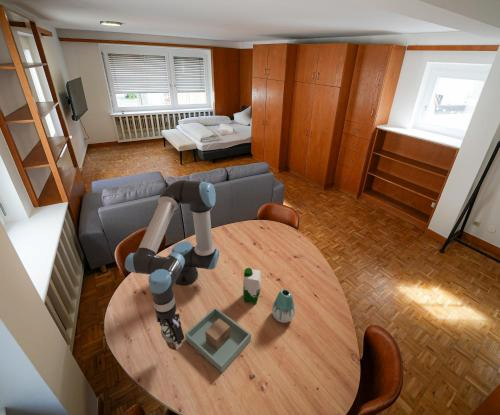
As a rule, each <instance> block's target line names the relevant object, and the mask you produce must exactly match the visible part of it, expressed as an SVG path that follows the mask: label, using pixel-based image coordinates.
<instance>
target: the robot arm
mask: <svg viewBox="0 0 500 415" xmlns="http://www.w3.org/2000/svg"><path fill="white" fill-rule="evenodd" d="M216 197H217V194H216V189H215V186H214V184H212V183H210V182H206V181H196V180H185V179H179V180H176V181H174V182H172V183H171V184H169V185H168V186H167V187H166V188H165V189H164V190H163V191H162V192H161V194H160V196H158V200H157V202H158V205H157V207H156V209H155V212H154V213H153V216H152V218H151V221H150V222H149V225H148V226H147V228H146V230H145V233H144V236H143V238H142V239H141V242H140V244H139V246H138V249H137V250H136V252H130V253H129V254H128V255H126V258H125V261H124V268H125V269H126V271H127V272H130V273H135V274H141V275H142V274H143V275H149V276H148V279H147V280H148V288H149V291H150V293H151V294H150V295H151V298H152V301H153V308H154V311H155V317H156V322H157V324H158V323H159V326H160V328H161V327H162V324H163V323H164V322H166V323H167V325H168V327H169V328H170V329H171V331H172V333H173V335H174V342H175V347H176V350H178V349H180V348H181V347H182V346H183V341H184V339H185V333H184V332H183V328H182V322H181V320H180V321H178V322H177V321H176V318H175V314H176V311H177V304H176V300H175V294H174V289H173V288H174V286H175V285H178V286H182V287H183V286H188V285H191V284H193V283H195V281H197V280H198V277H199V271H198V269H204V270H215V268H216V267H217V265H218V260H219V257H220V249H218V248H216V245H215V244H214V243H213V237H212V236H213V235H212V224H211V210H212V209H213V208H214V206H215V204H216V201H217V200H216ZM180 205H186V206H187V205H188V209H189V211H190V212H192V217H193V226H194V235H195V236H194V237H195V243H196V245H194V246H193V244H192V243H191V242H190V241H188V240H187V241H185V240H184V241H180V242H177V243H176V244H174V245H173V246H172V248H171V253H169V254H168V255H167V256H160V255H157V253H158V250H159V248H160V246H161V244H162V241H163V239H164V237H165V234H166V231H167V229H168V227H169V224H170V222H171V219H172V217H173V215H174V212H175V210H178V209H179V207H180Z"/></svg>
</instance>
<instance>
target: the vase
mask: <svg viewBox="0 0 500 415" xmlns="http://www.w3.org/2000/svg"><path fill="white" fill-rule="evenodd" d="M271 313H272V316H273V318H274V319H275V320H276V321H277V322H279V323H281V324H286V323H289V322H291V321H292V320H293V319H294V317H295V315H296V306H295V302H294V297H293V294H292V292H291V291H290V290H289V289H287V288H284V289H281V290H280V291H279V292H278V293H277V296H276V298H275V299H274V302H273V304H272V306H271Z"/></svg>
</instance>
